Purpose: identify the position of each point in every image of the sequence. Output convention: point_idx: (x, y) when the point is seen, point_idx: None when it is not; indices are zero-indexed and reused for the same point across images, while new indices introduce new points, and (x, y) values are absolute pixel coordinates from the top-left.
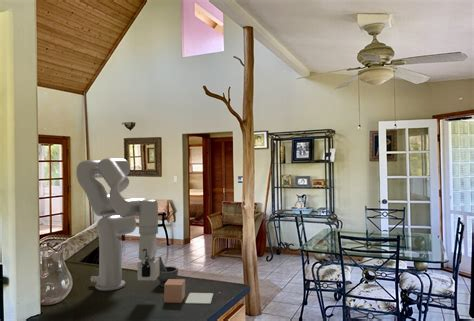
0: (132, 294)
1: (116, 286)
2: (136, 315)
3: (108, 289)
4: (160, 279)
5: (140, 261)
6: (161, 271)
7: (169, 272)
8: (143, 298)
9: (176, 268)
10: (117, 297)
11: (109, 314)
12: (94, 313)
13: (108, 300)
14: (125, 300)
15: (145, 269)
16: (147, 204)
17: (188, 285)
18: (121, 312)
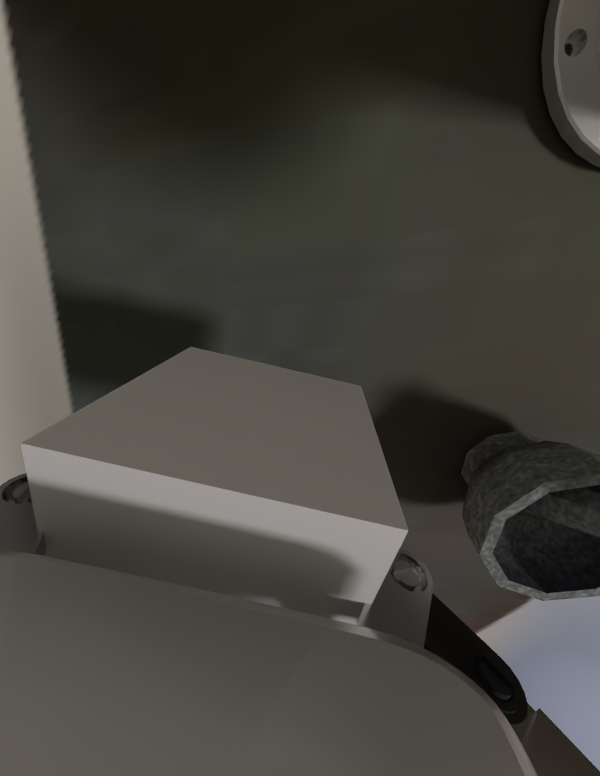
0: (386, 269)
1: (582, 88)
2: (68, 325)
3: (552, 5)
4: (495, 460)
5: (105, 494)
6: (582, 497)
7: (480, 551)
8: (299, 345)
9: (564, 595)
10: (350, 157)
11: (56, 159)
12: (54, 24)
13: (298, 85)
14: (280, 233)
15: None
16: None
17: (443, 550)
18: (94, 236)
